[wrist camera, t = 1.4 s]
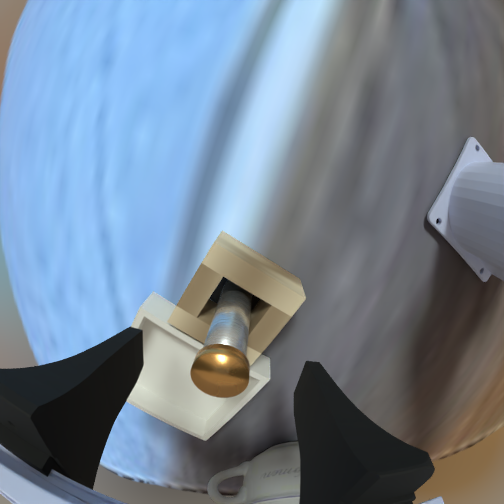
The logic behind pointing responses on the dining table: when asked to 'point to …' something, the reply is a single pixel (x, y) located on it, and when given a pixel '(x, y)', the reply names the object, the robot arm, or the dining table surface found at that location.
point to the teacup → (264, 478)
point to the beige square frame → (249, 278)
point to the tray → (182, 376)
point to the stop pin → (225, 346)
